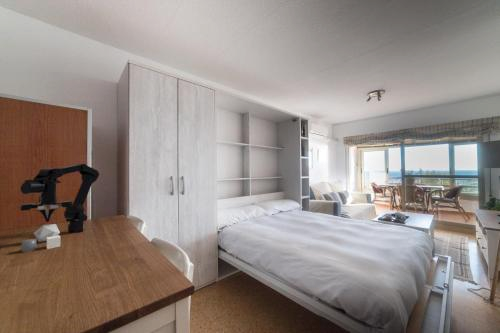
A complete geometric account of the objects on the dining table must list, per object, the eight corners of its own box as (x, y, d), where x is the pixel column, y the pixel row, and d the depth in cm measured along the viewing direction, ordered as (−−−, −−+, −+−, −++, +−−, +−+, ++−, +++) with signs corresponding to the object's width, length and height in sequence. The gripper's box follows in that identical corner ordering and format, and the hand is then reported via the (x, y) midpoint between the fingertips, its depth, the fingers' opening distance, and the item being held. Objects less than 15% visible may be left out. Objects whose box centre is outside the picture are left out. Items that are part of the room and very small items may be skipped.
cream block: (59, 244, 99) (59, 235, 99) (60, 246, 96) (60, 237, 96) (46, 246, 96) (46, 237, 96) (47, 249, 93) (47, 239, 93)
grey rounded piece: (37, 247, 94) (37, 238, 94) (34, 250, 91) (35, 240, 91) (23, 250, 91) (23, 240, 92) (20, 253, 88) (20, 242, 88)
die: (35, 241, 105) (26, 229, 100) (55, 229, 112) (48, 217, 107) (46, 248, 103) (37, 236, 97) (65, 236, 110) (58, 224, 104)
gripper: (73, 190, 118) (72, 216, 117) (26, 192, 106) (25, 221, 106) (71, 191, 109) (71, 220, 108) (20, 193, 97) (19, 226, 97)
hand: (47, 221), depth 105 cm, fingers closed
